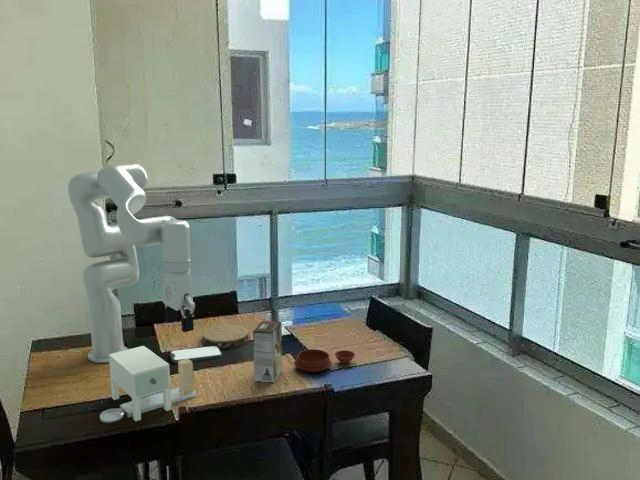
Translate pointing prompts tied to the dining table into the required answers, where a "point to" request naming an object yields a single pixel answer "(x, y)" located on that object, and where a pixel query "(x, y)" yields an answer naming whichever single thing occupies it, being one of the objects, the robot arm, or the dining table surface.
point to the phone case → (196, 354)
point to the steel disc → (111, 415)
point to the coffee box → (267, 351)
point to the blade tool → (177, 394)
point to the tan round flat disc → (225, 336)
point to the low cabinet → (139, 376)
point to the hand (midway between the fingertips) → (179, 325)
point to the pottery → (320, 359)
